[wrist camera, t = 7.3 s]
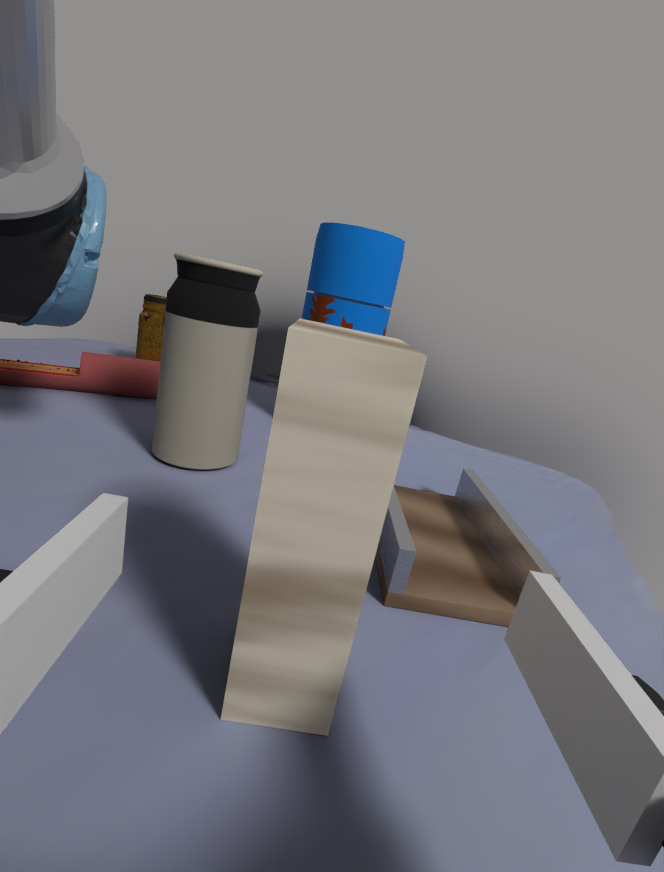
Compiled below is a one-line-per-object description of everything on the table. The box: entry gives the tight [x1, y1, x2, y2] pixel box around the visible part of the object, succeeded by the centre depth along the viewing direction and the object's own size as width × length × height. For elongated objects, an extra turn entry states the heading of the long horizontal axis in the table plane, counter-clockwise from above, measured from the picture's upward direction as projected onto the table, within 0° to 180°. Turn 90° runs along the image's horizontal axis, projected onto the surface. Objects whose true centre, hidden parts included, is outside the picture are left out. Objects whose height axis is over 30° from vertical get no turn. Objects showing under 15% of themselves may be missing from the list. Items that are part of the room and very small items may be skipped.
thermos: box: [302, 223, 405, 336], centre depth 60 cm, size 11×11×25 cm
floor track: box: [375, 469, 561, 627], centre depth 37 cm, size 18×10×4 cm, turn 0°
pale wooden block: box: [221, 319, 427, 736], centre depth 20 cm, size 6×4×16 cm
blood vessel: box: [0, 352, 160, 399], centre depth 55 cm, size 42×5×5 cm, turn 112°
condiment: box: [136, 294, 167, 362], centre depth 72 cm, size 7×8×12 cm
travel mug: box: [152, 253, 263, 470], centre depth 43 cm, size 8×8×18 cm
